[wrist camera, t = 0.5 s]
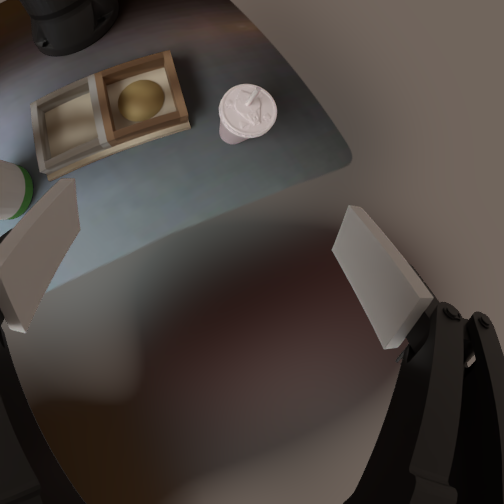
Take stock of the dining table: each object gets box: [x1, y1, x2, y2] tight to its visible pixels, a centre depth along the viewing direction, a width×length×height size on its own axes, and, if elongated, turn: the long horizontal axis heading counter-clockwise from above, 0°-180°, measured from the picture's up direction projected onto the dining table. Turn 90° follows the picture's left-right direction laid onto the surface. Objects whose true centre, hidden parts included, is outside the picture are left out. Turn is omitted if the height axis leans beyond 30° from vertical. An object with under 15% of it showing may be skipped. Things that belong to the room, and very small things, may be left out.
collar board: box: [30, 50, 191, 181], centre depth 31 cm, size 12×21×4 cm, turn 107°
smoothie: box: [219, 84, 277, 144], centre depth 31 cm, size 6×6×14 cm
